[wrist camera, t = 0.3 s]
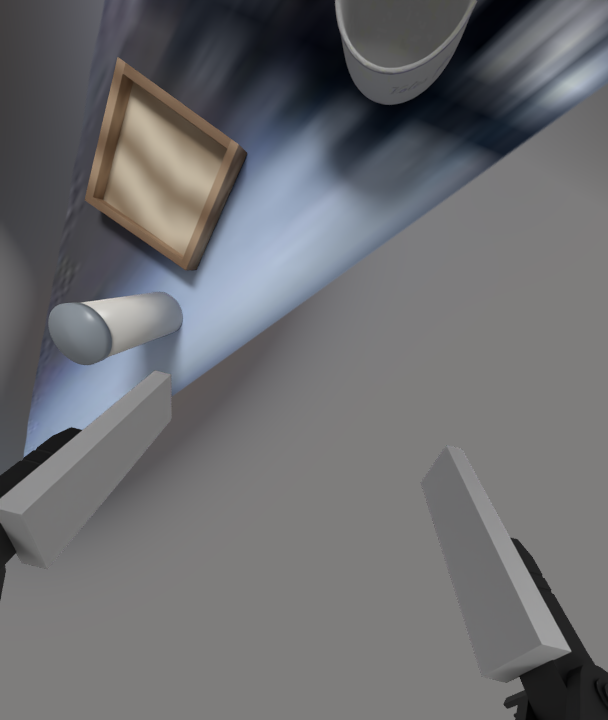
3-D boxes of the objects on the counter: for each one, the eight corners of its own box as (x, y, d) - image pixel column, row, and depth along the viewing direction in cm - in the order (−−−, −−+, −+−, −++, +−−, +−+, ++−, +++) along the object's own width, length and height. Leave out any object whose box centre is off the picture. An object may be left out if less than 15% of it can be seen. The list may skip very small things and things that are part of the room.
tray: (135, 72, 32) (117, 57, 29) (247, 153, 32) (238, 144, 30) (101, 203, 38) (84, 199, 36) (196, 269, 38) (185, 270, 36)
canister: (144, 285, 41) (45, 295, 28) (185, 298, 40) (103, 314, 27) (143, 327, 43) (51, 354, 30) (181, 339, 43) (104, 373, 30)
